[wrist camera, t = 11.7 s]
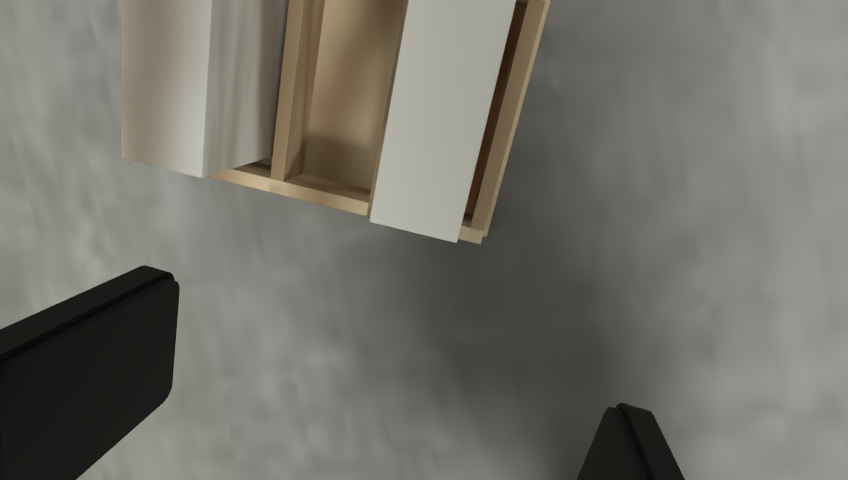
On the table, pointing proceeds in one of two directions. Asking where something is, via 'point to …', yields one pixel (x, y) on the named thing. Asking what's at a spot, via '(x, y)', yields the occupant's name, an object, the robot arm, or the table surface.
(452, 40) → the panel
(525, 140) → the table surface
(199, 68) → the rack
